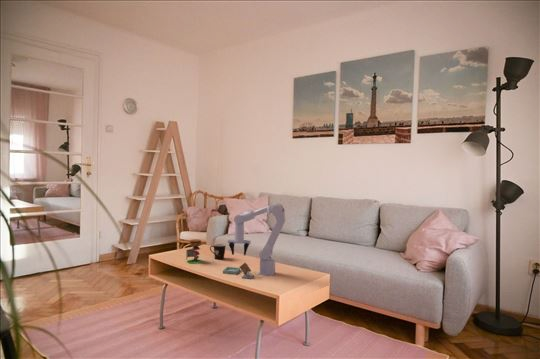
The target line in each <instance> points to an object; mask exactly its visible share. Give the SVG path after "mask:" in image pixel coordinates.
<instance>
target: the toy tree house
mask: <svg viewBox="0 0 540 359" xmlns="http://www.w3.org/2000/svg"><path fill="white" fill-rule="evenodd" d="M201 245H202V240H201V239H190V240H189V246H190V247H191V248H189V249H186V250H185V260H186V262H187V263H188V264H190V265H191V264H194V265H196V264H197V263H198V264H201V263H203V262H204V260H203V259H198V258H200V256H199V255H200V252H199V250H201V248H200V247H201ZM188 258H192V259H189V260H188ZM198 264H197V265H198Z"/></svg>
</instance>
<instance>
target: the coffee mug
mask: <svg viewBox="0 0 540 359" xmlns="http://www.w3.org/2000/svg"><path fill="white" fill-rule="evenodd" d="M212 248H213V250H212ZM209 250H210V252H211V253H213V255H214V260H218V261H219V260H220V261H221V260H224V259H225V254H226V244H224V243H216V244H213V245H210V247H209Z"/></svg>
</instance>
